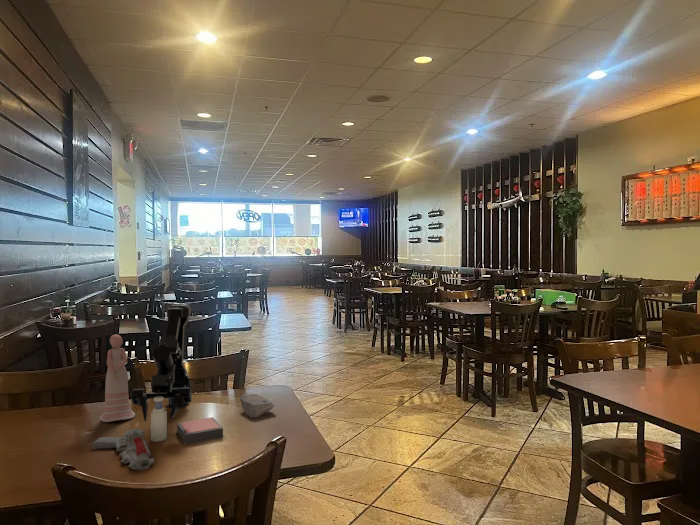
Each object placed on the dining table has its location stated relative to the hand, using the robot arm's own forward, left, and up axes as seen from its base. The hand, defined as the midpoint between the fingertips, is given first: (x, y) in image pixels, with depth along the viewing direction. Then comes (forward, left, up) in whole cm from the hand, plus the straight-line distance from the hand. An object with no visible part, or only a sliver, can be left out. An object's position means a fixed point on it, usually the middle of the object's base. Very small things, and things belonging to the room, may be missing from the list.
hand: (157, 419), depth 165 cm
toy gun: (-1, -13, -7) cm, 15 cm away
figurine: (-30, +9, -7) cm, 32 cm away
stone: (+11, +37, -7) cm, 39 cm away
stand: (+8, +10, -7) cm, 15 cm away
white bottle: (-1, +1, -7) cm, 7 cm away
